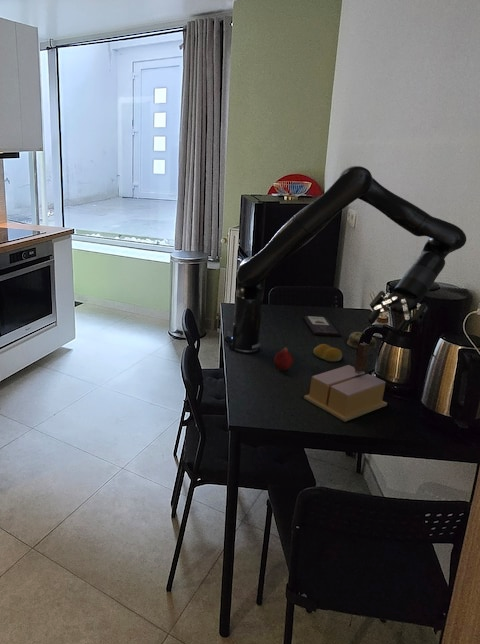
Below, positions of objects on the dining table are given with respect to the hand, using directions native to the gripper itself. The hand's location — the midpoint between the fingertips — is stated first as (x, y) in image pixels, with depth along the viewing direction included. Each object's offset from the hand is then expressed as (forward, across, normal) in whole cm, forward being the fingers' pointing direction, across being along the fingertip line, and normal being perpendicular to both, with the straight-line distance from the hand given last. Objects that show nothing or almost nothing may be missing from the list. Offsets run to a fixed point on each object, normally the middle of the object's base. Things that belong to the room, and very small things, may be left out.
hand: (383, 327), depth 139 cm
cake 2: (-5, -24, +35) cm, 43 cm away
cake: (+24, 0, +6) cm, 24 cm away
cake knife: (+20, 0, +9) cm, 22 cm away
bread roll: (+9, -23, +21) cm, 32 cm away
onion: (+24, -22, +5) cm, 34 cm away
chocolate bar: (-6, -43, +36) cm, 56 cm away
